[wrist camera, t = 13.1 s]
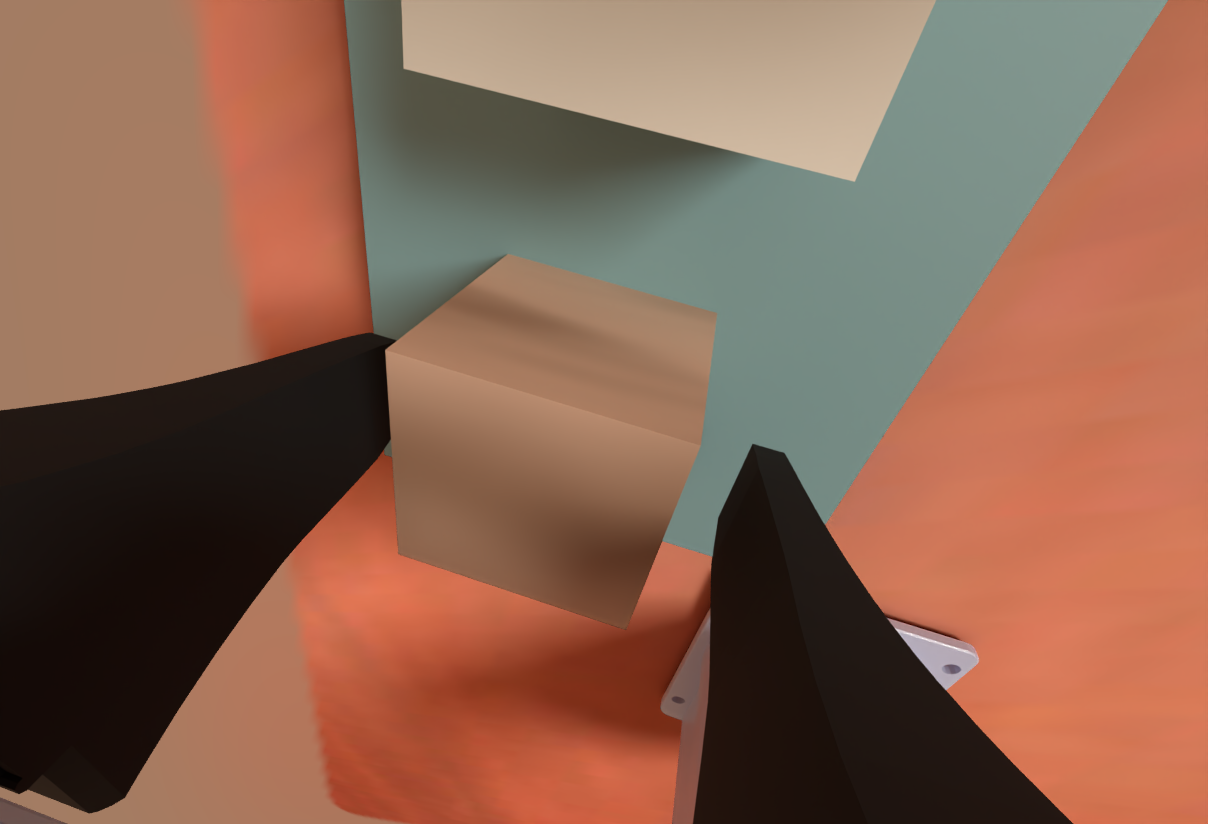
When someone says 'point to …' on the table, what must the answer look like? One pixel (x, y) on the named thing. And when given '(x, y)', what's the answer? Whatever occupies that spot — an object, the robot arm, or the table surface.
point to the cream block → (688, 66)
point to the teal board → (745, 220)
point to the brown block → (547, 433)
